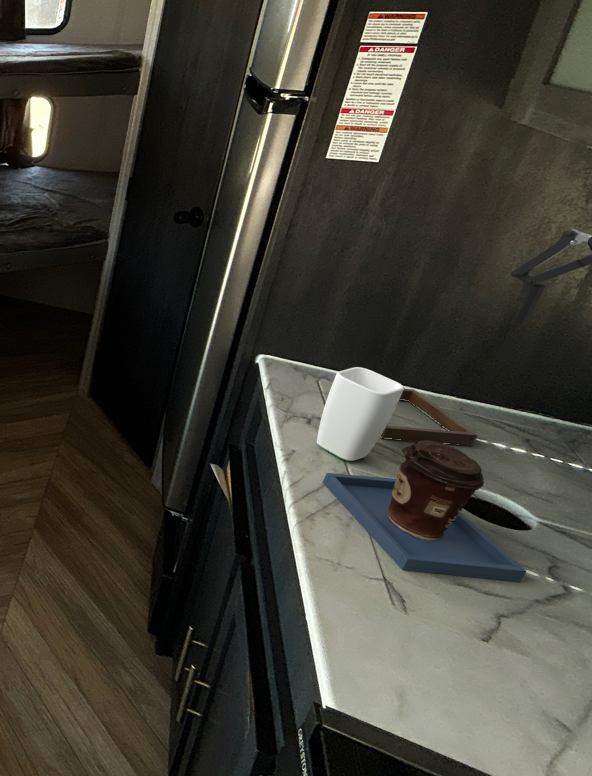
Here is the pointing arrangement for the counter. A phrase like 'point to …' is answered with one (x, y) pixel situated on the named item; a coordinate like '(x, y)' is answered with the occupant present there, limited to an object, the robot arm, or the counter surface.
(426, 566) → the tray
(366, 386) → the cup
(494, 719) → the counter surface
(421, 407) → the brown picture frame
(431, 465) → the coffee cup
